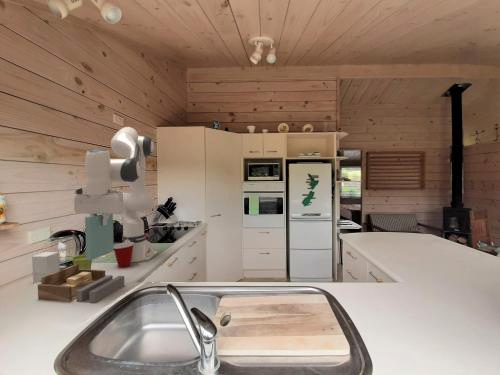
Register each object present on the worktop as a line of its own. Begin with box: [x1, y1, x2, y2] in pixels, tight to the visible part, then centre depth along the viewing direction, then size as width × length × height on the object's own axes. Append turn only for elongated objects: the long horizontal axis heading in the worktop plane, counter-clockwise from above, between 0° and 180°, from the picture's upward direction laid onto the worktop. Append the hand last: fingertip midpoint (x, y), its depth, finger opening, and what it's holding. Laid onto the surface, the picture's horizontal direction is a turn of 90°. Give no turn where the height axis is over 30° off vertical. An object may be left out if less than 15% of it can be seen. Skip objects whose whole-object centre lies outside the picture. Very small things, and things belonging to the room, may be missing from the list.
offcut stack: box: [64, 272, 95, 297], centre depth 105 cm, size 12×5×6 cm, turn 169°
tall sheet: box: [84, 214, 115, 261], centre depth 102 cm, size 12×2×16 cm, turn 169°
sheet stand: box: [75, 274, 125, 304], centre depth 103 cm, size 16×8×6 cm, turn 169°
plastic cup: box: [113, 242, 134, 269], centre depth 139 cm, size 11×11×12 cm
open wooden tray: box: [37, 264, 106, 303], centre depth 105 cm, size 18×14×10 cm
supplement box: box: [31, 251, 61, 285], centre depth 120 cm, size 7×7×13 cm
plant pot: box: [70, 253, 93, 270], centre depth 128 cm, size 9×9×9 cm
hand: (100, 225), depth 102 cm, fingers closed on tall sheet, 2 cm apart
